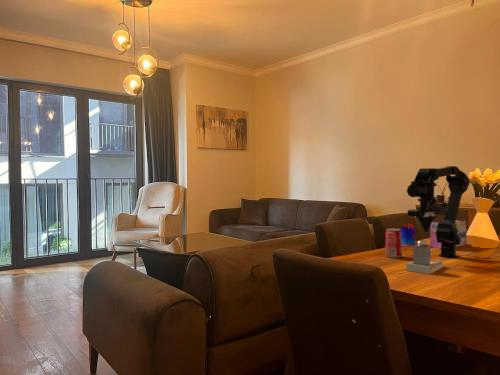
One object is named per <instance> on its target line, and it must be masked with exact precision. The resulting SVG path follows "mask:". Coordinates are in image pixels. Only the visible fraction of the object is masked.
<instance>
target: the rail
mask: <svg viewBox="0 0 500 375" xmlns="http://www.w3.org/2000/svg"><path fill="white" fill-rule="evenodd" d="M405 265H406V266H405V268H406V269H405V270H406V271H408V272H413V273H420V274H427V275H432V274H433V273H435V272H436V271H439V270H440V269H442V268H444V267H445V265H444V263H443V260H442V259H438V260H436V261H430V265H428V266H424V265H418V264H413V260H412V261H410V262H406V264H405Z"/></svg>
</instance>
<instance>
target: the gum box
mask: <svg viewBox="0 0 500 375" xmlns="http://www.w3.org/2000/svg"><path fill="white" fill-rule="evenodd" d="M443 221H444V220H437V221H432V223H431V225H430V228H429V230H430V234H429V235H430V238H429V240H430V241H429V242H430V243H429V245H431V248H433V249H440V250H441V243H438V242H437V238H436V229H437V225H438V223H442V222H443ZM455 225H456V227H457V234H458V236H459V237H460V239H461V242H460V244H459V245H456V248H458V247H462V246H463V247H464V246H467V243H468V242H467V241H468V240H467V238H468V237H467V236H466V234H468V233H467V220H466V219H465V220H456V222H455ZM445 241H446V240H445ZM452 242H453V241H452Z"/></svg>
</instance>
